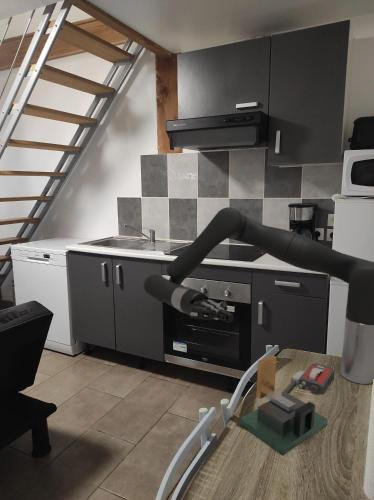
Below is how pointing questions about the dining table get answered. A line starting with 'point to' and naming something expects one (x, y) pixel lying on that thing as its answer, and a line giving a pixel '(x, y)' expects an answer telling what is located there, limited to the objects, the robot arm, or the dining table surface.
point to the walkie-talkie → (312, 379)
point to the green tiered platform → (284, 423)
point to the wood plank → (270, 383)
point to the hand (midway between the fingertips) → (231, 318)
